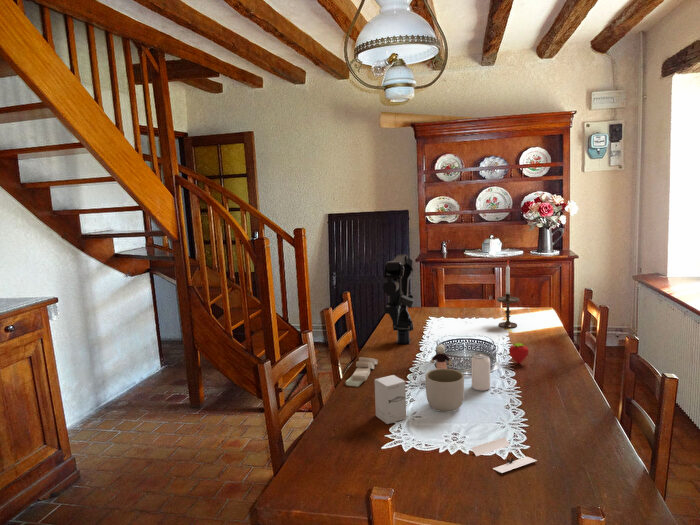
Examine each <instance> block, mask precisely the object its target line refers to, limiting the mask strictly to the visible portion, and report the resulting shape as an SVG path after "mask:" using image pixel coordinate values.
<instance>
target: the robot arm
mask: <svg viewBox="0 0 700 525" xmlns="http://www.w3.org/2000/svg"><path fill="white" fill-rule="evenodd" d="M414 269H415V264H414V261H413V260H412V259H411V258H409V256H408V254H406V253H403V254H401V253H400V254H399V253H398V254H396V256H395V258H394V259H393V260H390V261H386V264H385V265H384V271H383V279H386V281H385V282H384V284H383V286H382V289H383V292H384V293H385V294H387V296H388V302H387V305H386V306H385V307H384V308H383V314H388V315H389V318H390V319H391V321H392V328H393V331H396V333H397V334H396V335H397V337H396V338H397V339H396V341H395V344H398V345H410V343H411V342H412V339H410V332H412V331H414V323H413V320H412V318H411V314H410V312H409V310H408V308H409V309H412V308H413V306H414V304H415V301H416V298H414V295H413V294H412V293H411V294H409V283H410V279H411V278H412V276H413V272H414Z"/></svg>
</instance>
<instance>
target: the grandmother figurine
mask: <svg viewBox="0 0 700 525" xmlns="http://www.w3.org/2000/svg"><path fill="white" fill-rule="evenodd" d="M436 352H437V354H435V355H433V356H432V358H431V360H430V363H431V364H434V362H435V361H436V369H448V367H447V363H448V365H449V366H451V365H452V360H451V359H450V358H449V356H448V355H447V354H444V353H445V352H446V346H445V345H444V344H438V346H437V347H436Z"/></svg>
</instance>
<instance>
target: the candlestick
mask: <svg viewBox="0 0 700 525" xmlns="http://www.w3.org/2000/svg"><path fill="white" fill-rule="evenodd" d="M509 262H510V259H508V258H507V261H506V264H507V265H506V267H505V292H504V293H503V294H504V296H499V297H497V298H496V302H498V303H503V304H506V310H505V311H504V313H505V314H506V315H505V318H506V321H503V322H502V321H501V322H499V323H498V327H499V328H502V329H509V330H511V329H516V328H517V327H518V323H516V322H512V321H510V318H511V315H510V314H511V312H512V311H511V310H510V304H515V303H519V302H520V298H519V297H517V296H511V295H512V294H513V293H512V292H511V291H510V290H511V277H510V275H511V272H510V271H511V268H510V266H509Z"/></svg>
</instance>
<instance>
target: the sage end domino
mask: <svg viewBox="0 0 700 525" xmlns="http://www.w3.org/2000/svg"><path fill="white" fill-rule="evenodd" d="M362 383H364V381H358V380H353V378H352V375H351V376H350V377H349V378H348V379H347V380H345V385H346V386H349V387H360V386H361V385H362Z"/></svg>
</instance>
